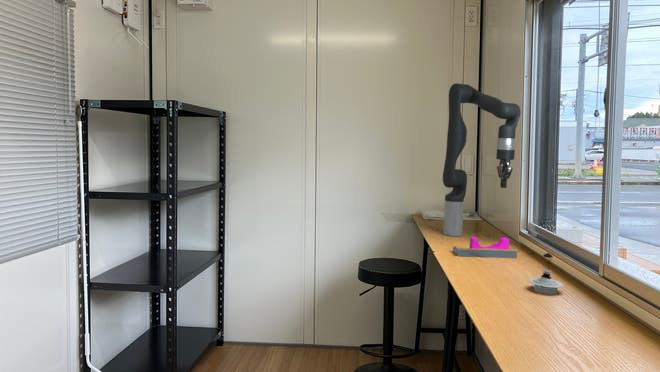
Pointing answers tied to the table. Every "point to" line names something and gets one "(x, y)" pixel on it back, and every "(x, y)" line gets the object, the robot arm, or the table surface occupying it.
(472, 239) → the toy block
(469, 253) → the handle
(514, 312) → the table surface
